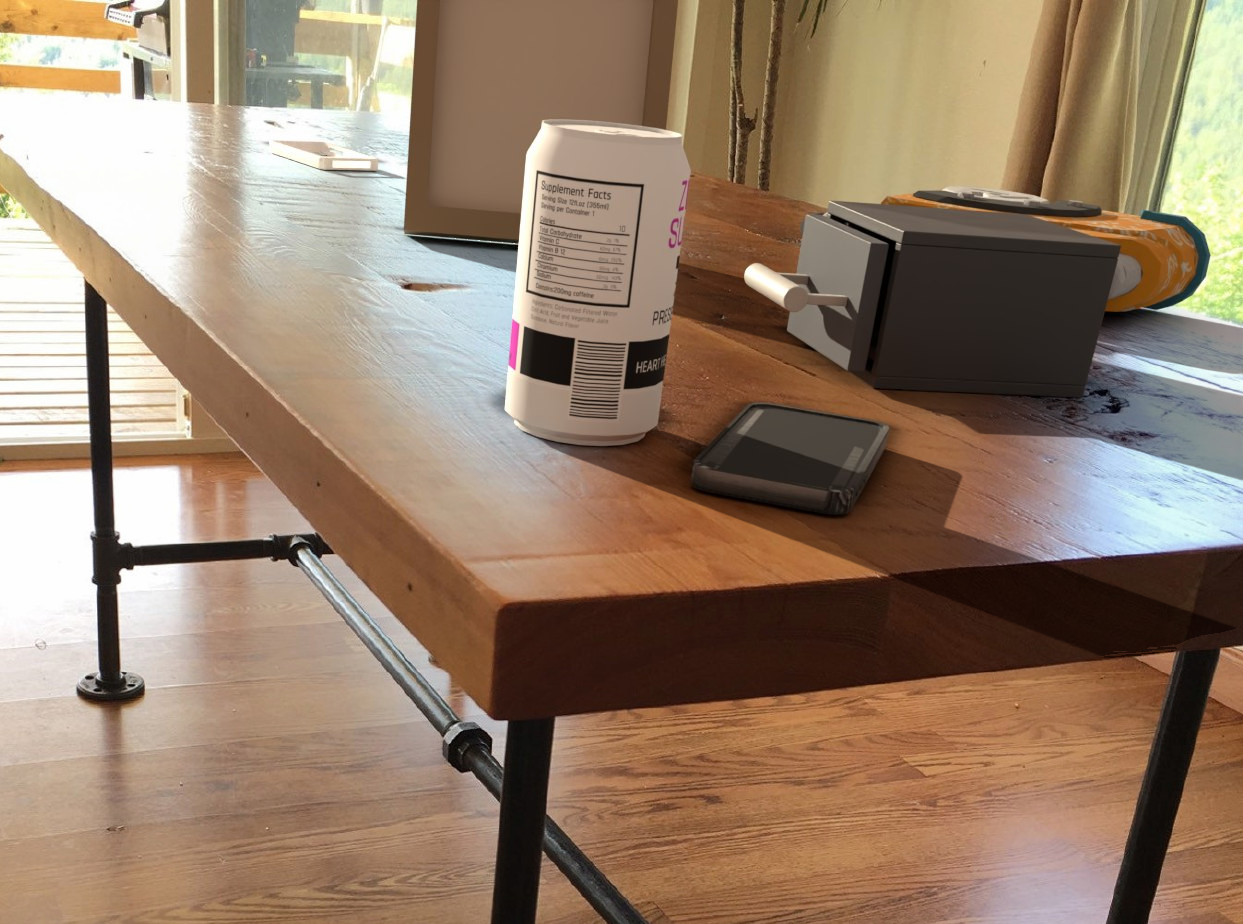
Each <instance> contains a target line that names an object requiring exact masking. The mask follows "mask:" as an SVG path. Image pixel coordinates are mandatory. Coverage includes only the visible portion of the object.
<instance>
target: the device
mask: <svg viewBox="0 0 1243 924" xmlns="http://www.w3.org/2000/svg"><path fill="white" fill-rule="evenodd" d="M880 204H887V205H901V206H915V207H930V208H944V209H958V210H972V211H987V212H1001V213H1015V214H1026V215H1029V216H1032V217H1035V218H1038V219H1042V220H1045V221H1048V222H1051V223H1054V224H1057V225H1060V226H1063V227H1066V228H1069V229H1072V230H1075V231H1078V232H1081V233H1084V234H1087V235H1091V236H1094V237H1097V238H1100V239H1103V240H1106V241H1109V242H1112V243H1115V244H1118V245H1121V249H1120V253H1119V257H1118V258H1117V259H1118V262H1117V266H1116V270H1115V274H1114V277H1113V281H1112V285H1111V289H1110V293H1109V297H1108V301H1107V305H1106V309H1105V312H1129V311H1133V310H1138V309H1142V308H1143V309H1147V310H1153V311H1158V310H1162V309H1166V308H1170V307H1173V306H1176V305H1178V304H1179V303H1181V302H1184V301H1186V300H1187V299H1188V298H1190V297H1191V296H1193V295H1194V293H1195V292H1196V291H1197V290H1198V289H1199V287H1200V285H1201V284H1202V283H1203V281H1204V280H1205V279H1206V277H1207V273H1208V269H1209V266H1210V265H1209V264H1210V261H1211V252H1210V248H1209V245H1208V242H1207V237H1206V234H1205V233H1204V232H1203V231H1202V230H1201V229H1200V228H1199V227H1198V226H1197V225H1195V223H1193V222H1192V221H1191V220H1190V219H1189V218H1188V217H1187V216H1184V215H1179V214H1172V213H1166V212H1159V211H1155V210H1154V211H1153V210H1148V209H1141V210H1140V215H1137V214H1129V213H1123V212H1117V211H1110V210H1104V209H1102V208H1101V207H1100V205H1096V204H1089V203H1084V201H1081V200H1072V199H1069V200H1064V199H1059V200H1057V201H1055V202H1052V203H1050V201H1049V199H1046V198H1044V197H1040V196H1037V195H1034V194H1029V193H1023V192H1018V191H1017V192H1016V191H1011V190H1005V189H999V188H988V187H978V186H977V187H976V186H966V185H965V186H961V185H959V186H955V185H954V186H953V185H949V186H946V187H944V188H943V189H942V190H917V191H915V192H914V193H913V192H912V193H904V194H894V195H887V196H886V197H885V198H884V199H883V200H882V201H881V202H880ZM827 213H828V212H827V211H823V212H813V213H812V214H813V215H823V216H825V217H826V216H827ZM805 218H806V216H805V217H804V218H803V219H802V221H801V222H800V225H799V230H800V235H801V237H802V236H803V230H804V224H805Z"/></svg>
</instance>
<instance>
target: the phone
mask: <svg viewBox="0 0 1243 924" xmlns="http://www.w3.org/2000/svg"><path fill="white" fill-rule="evenodd" d="M889 431H890V426H889V425H888V424H886V423H883V422H880V421H879V420H874V419H873V420H872V419H866V418H863V417H862V418H861V417H855V416H849V415H844V414H838V413H831V412H825V411H819V410H813V409H807V408H802V407H795V406H790V405H784V404H778V403H772V402H760V401H758V402H750V403H749V404H747V405H746V406H745V407H744V408H743V409H742V410H741V411H740V412H739V413H738V414H737V415H736V416H735V417H734V418H733V419H732V420H731V421H730V422H729V423H728V424H727V425H726V427H724V429H722V431H721V432H720V433H719V434H718V435H716V437H714V439H713V440H712V441H711V442H710V443H709V444H708V445H707V446H706V447H705V448H704V449H703V450H702V451H701V452H700V453H699V454H698V455H697V456H696V457H695V458H694V459H693V462H692V467H691V468H692V470H691V477H690V482H689V484H690V486H691V487H692V488H694V489H696V490H699V491H701V492H706V493H711V494H716V495H722V496H728V497H732V498H737V499H743V500H748V501H754V502H759V503H765V504H769V505H770V504H771V505H776V506H781V507H786V508H792V509H797V510H803V511H808V512H814V513H818V514H825V515H833V516H834V515H837V516H839V515H846V514H849V513H850V512H852V510H853V508H854V506H855V504H856V502H857V501H858V498H859V497H860V495H861V493H862V491H863V490H864V488H865V486H866V484H867V482H868V480H869V478H870V477H871V475H872V473H873V471H874V469H875V468H876V466H877V464H878V463H879V460H880V458H881V457H882V455H883V453H884V451H885V449H886V446H887V441H888V436H889Z"/></svg>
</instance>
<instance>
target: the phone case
mask: <svg viewBox="0 0 1243 924" xmlns="http://www.w3.org/2000/svg"><path fill="white" fill-rule="evenodd" d="M331 149H332V150H336V151H339V152H341V153H342V154H339V153H335V152H332V151H331ZM269 153H271V154H274V155H277V156H280V157H282V158H285V159H289V160H291V161H294V162H297V163H301V164H303V165H307V166H310V167H312V168H316V169H319V170H324V171H369V172H370V171H373V172H374V171H375V172H376V171H378V170H379V158H378V157H374V156H371V155H367V154H364V153H361V152H358V151H355V150H352V149H349V148H345V147H341V146H338V145H334V144H331V143H328V142H324V141H305V140H304V141H302V140H272V139H271V140H269ZM323 154H324V155H323ZM326 155H327V156H326Z"/></svg>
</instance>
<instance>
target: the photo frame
mask: <svg viewBox="0 0 1243 924" xmlns="http://www.w3.org/2000/svg"><path fill="white" fill-rule="evenodd" d="M678 8H679V0H416V13H415V14H416V15H415V29H414V30H415V31H414V46H413V47H414V48H413V63H412V64H413V66H412V82H411V84H412V85H411V98H410V113H409V114H410V115H409V131H408V133H409V134H408V150H407V164H406V183H405V199H404V200H405V201H404V218H403V219H404V220H403V234H404V235H410V236H420V237H421V236H422V237H433V238H443V239H444V238H445V239H455V238H456V239H457V240H467V239H468V241H478V240H480V241H479V242H490V241H491V243H492V242H493V243H502V242H503V244H513V243H515V245H519V235H520V224H521V212H522V200H523V188H524V177H525V165H526V154H527V152H528V150H529V148H530V147H531V145H532V143H533V142H534V140H535V138H536V136H537V135H538V133H539V131H540V130H541V127H542V121H543V120H586V121H599V122H611V123H620V124H629V125H637V126H644V127H651V128H658V129H663V130H667V123H668V122H667V121H668V112H669V101H670V91H671V82H672V70H673V60H674V48H675V38H676V30H677V29H676V28H677V18H678ZM456 239H455V240H456Z"/></svg>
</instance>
